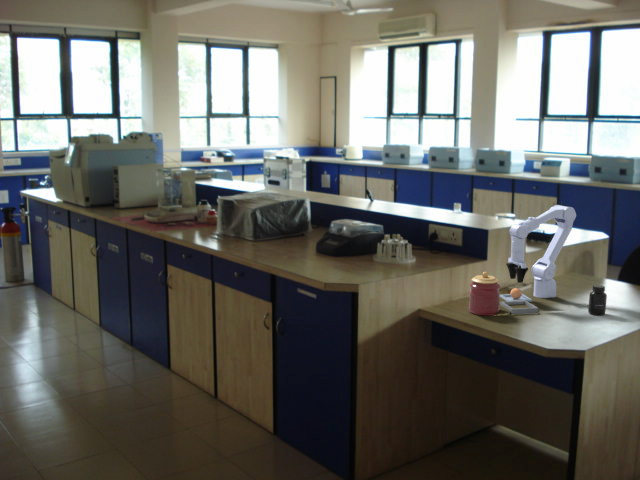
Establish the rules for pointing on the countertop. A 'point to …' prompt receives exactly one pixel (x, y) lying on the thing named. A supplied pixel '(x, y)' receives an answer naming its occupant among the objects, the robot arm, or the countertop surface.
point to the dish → (522, 298)
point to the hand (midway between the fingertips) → (516, 280)
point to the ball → (516, 293)
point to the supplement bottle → (597, 300)
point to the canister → (484, 295)
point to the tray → (520, 310)
